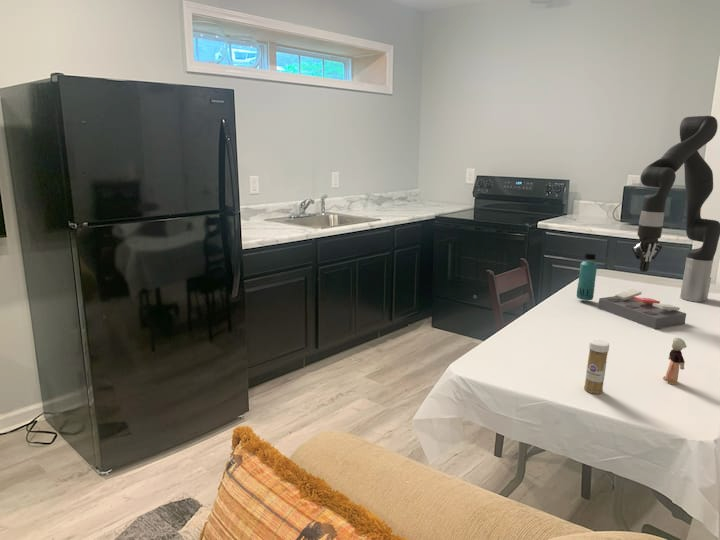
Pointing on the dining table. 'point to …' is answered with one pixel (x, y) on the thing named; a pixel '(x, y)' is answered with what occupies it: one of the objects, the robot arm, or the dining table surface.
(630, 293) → the grey rocker near bottle
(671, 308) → the grey rocker far end
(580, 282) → the beverage bottle
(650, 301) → the block
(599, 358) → the sprinkles bottle
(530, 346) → the dining table surface
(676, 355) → the grandmother figurine
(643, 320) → the power strip
